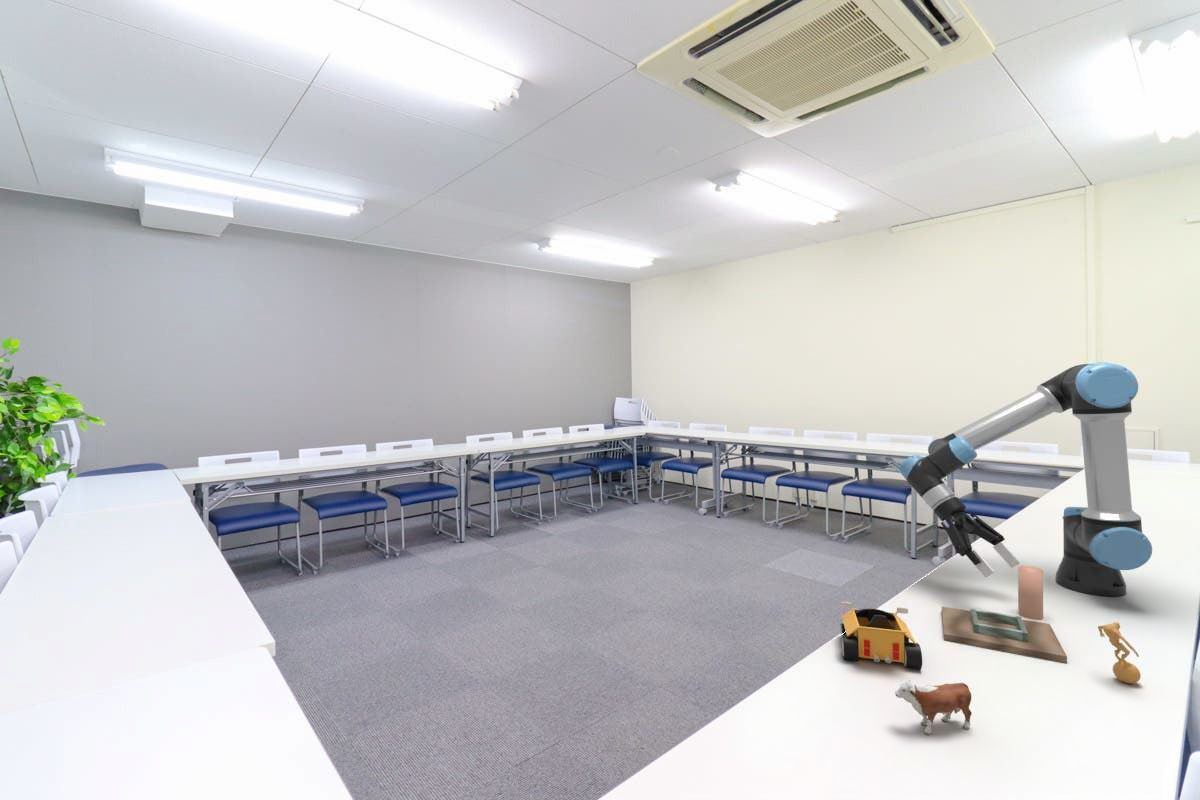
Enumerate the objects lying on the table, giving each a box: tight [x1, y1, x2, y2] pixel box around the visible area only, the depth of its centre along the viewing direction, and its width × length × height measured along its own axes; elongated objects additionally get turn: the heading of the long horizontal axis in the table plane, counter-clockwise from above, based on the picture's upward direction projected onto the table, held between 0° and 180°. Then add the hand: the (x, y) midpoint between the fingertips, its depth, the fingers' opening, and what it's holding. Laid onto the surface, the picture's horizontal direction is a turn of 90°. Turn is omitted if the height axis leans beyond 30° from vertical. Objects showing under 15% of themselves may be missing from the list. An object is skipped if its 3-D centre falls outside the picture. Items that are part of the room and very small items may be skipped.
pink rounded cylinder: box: [1017, 565, 1044, 621], centre depth 138 cm, size 5×5×12 cm
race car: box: [840, 601, 923, 670], centre depth 120 cm, size 15×15×11 cm
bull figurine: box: [894, 679, 972, 736], centre depth 94 cm, size 4×13×8 cm, turn 95°
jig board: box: [941, 606, 1068, 664], centre depth 127 cm, size 22×18×4 cm
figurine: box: [1097, 621, 1142, 684], centre depth 107 cm, size 8×6×12 cm
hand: (1003, 570), depth 142 cm, fingers open, 13 cm apart
